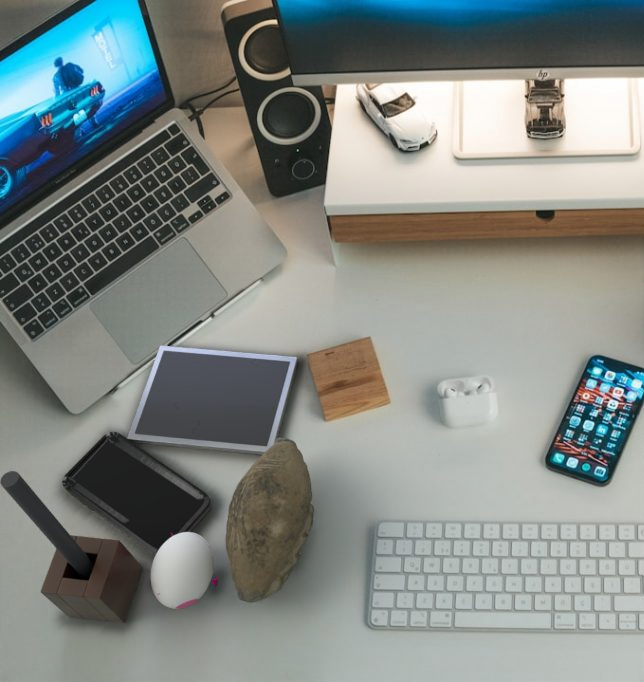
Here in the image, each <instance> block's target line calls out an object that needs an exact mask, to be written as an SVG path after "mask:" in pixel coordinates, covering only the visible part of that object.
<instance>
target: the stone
mask: <svg viewBox="0 0 644 682" xmlns="http://www.w3.org/2000/svg"><path fill="white" fill-rule="evenodd" d="M312 501H313V490H312V480H311V475H310V471H309V468H308V464H307V462H305V460H304V456H303V453H302V452H301V450H300V449H299V448H298V446H297V443H296V442H295V441H294V440H293V439H290V438H287V437H278V438H277V439H276V440H275V442H274V445H273V446H271V447H270V448H269V449H268V450H267V451H266V452H264V453H263V455H261V456H259V458H258V459H257V460H256V461H255V462H254V463H253V464H252V465H251V466H250V468H249V469H248V470H247V472H246V473H245V474H244V475H243V476H242V478H241V479H240V481H239V482H238V483H237V485H236V487H235V488H234V492H233V494H232V496H231V500H230V503H229V505H228V510H227V511H228V513H227V520H226V528H225V529H226V530H225V531H226V532H225V551H226V555H227V558H228V562H229V569H230V576H231V581H232V583H233V585H234V588H235V590H236V592H237V598H238V599H239V600H240V601H243V602H246V603H250V604H251V603H257V602H260V601H263V600H265V599H267V598H268V597H270V596H272V595H273V594H274V593H277V592H279V591H280V590H282V587H283V585H284V583H285V582H286V580H287V579H288V577H289V575H290V574H291V572H293V570H294V568H295V566H296V564H297V563H298V560H299V559H300V557H301V553H302V551H303V548H304V547H305V544H306V542H307V540H308V537H309V534H308V533H310V531H311V529H312V528H313V524H314V512H315V508H314V505H313V504H312Z"/></svg>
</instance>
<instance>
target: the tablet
mask: <svg viewBox="0 0 644 682" xmlns="http://www.w3.org/2000/svg"><path fill="white" fill-rule="evenodd" d="M298 365H299V358H298V357H297V356H285V355H276V354H275V355H274V354H262V353H251V352H240V351H230V350H227V351H226V350H217V349H206V348H205V349H204V348H194V347H184V346H182V347H181V346H172V345H159V347H158V349H157V352H156V356H155V358H154V362H153V364H152V366H151V369H150V373H149V375H148V379H147V381H146V383H145V386H144V389H143V392H142V395H141V398H140V400H139V404H138V406H137V409H136V412H135V415H134V418H133V420H132V423H131V426H130V429H129V432H128V435H127V437H126V438H127V439H128V440H130V441H131V442H133V443H134V444H145V445H156V446H167V447H177V448H187V449H197V450H209V451H219V452H229V453H230V452H231V453H240V454H248V455H249V454H251V455H261V456H262V455H263V453H264V452H266V451H267V450H268V449H269V448H270V447H271V446H273V445H274V442H275V440H276V439H277V438H279V435H280V431H281V428H282V424H283V420H284V418H285V414H286V409H287V406H288V403H289V399H290V395H291V391H292V387H293V384H294V380H295V377H296V372H297V370H298Z"/></svg>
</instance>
